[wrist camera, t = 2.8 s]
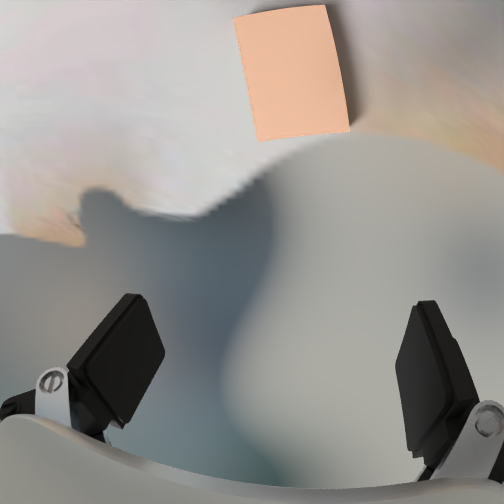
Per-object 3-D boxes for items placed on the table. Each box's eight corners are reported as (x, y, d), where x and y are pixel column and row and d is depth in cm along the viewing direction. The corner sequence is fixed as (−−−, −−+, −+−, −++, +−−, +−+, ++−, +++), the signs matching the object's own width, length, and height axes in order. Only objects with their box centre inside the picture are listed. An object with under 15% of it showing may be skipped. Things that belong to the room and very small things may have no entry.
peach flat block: (323, 14, 19) (324, 4, 17) (345, 129, 24) (350, 131, 22) (240, 26, 21) (232, 18, 19) (262, 138, 26) (257, 141, 24)
